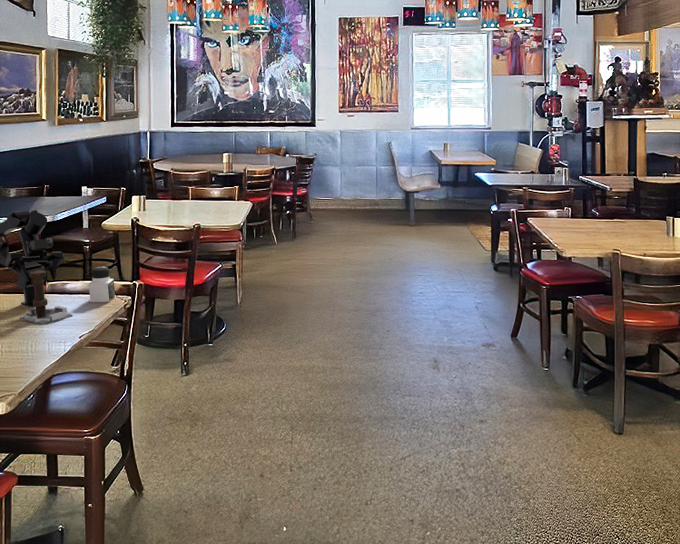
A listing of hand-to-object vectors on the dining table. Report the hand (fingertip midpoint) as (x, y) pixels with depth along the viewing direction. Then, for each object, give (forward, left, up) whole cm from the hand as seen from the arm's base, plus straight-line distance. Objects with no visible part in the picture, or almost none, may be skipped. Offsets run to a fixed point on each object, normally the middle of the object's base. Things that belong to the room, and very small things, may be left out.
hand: (41, 280), depth 277 cm
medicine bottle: (+4, +21, -11) cm, 25 cm away
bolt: (+5, -5, -11) cm, 13 cm away
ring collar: (+7, -4, -11) cm, 14 cm away
